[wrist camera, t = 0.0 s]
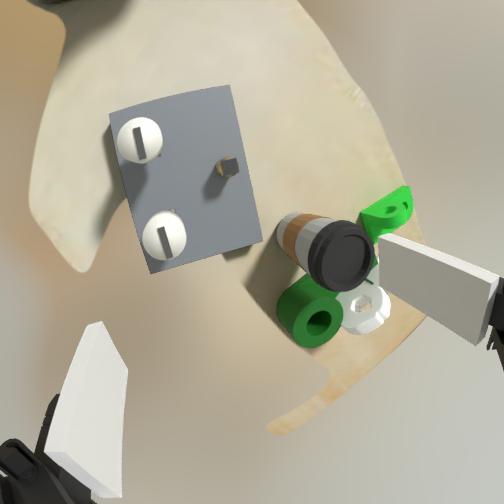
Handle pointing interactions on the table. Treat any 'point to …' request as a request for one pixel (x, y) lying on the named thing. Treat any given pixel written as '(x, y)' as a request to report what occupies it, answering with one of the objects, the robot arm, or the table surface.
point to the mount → (192, 174)
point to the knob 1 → (140, 140)
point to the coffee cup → (327, 249)
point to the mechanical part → (388, 213)
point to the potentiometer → (227, 167)
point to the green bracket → (311, 311)
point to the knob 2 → (164, 235)
